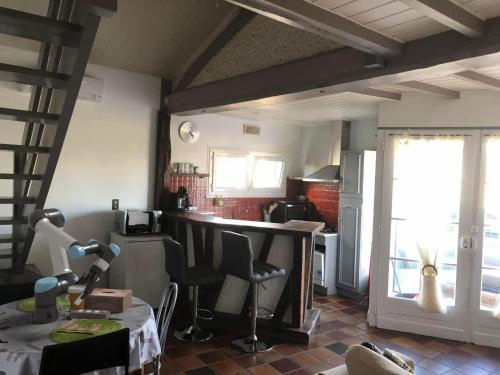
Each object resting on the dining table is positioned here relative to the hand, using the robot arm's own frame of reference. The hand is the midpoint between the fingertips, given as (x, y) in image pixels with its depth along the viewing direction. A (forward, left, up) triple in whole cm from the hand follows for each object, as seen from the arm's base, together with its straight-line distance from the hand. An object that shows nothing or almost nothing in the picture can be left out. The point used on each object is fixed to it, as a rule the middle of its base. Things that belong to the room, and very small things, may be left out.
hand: (71, 302), depth 215 cm
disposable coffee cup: (+2, +3, -5) cm, 6 cm away
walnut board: (+3, +8, -16) cm, 18 cm away
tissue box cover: (+2, +42, -17) cm, 45 cm away
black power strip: (+5, +22, -16) cm, 27 cm away
